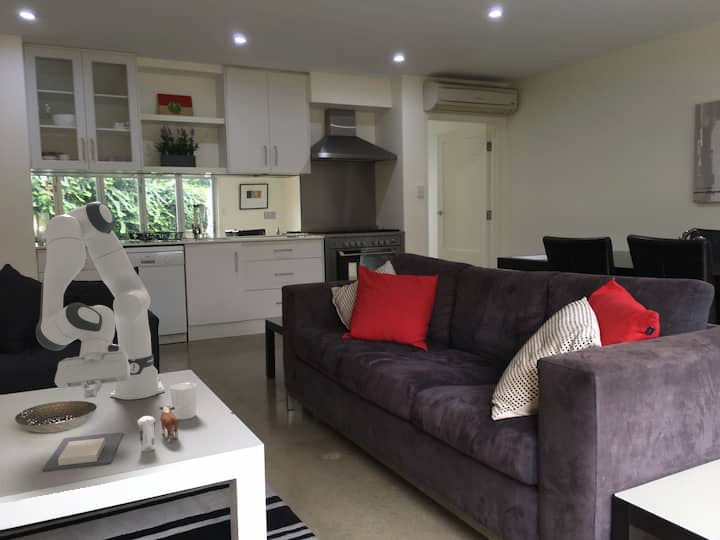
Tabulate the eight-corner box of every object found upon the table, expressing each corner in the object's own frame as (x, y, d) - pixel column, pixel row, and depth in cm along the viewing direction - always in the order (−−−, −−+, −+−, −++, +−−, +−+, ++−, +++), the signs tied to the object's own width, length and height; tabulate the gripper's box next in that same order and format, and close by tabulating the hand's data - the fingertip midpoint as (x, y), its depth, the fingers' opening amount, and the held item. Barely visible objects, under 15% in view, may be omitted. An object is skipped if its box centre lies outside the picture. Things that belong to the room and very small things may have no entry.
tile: (69, 441, 159) (58, 458, 148) (104, 437, 161) (96, 454, 150) (69, 448, 159) (58, 466, 148) (104, 444, 162) (96, 461, 150)
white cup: (190, 421, 181) (188, 389, 181) (167, 419, 183) (165, 388, 182) (202, 412, 189) (200, 382, 188) (179, 411, 191) (178, 382, 190)
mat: (64, 440, 167) (64, 438, 167) (123, 434, 171) (123, 432, 171) (42, 471, 146) (42, 469, 146) (110, 463, 150) (110, 461, 150)
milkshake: (133, 450, 159) (131, 414, 158) (153, 445, 162) (151, 410, 161) (138, 455, 155) (136, 418, 155) (159, 449, 159) (157, 414, 158)
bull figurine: (174, 427, 176) (173, 401, 175) (181, 442, 164) (179, 414, 163) (159, 430, 174) (157, 403, 173) (164, 445, 162) (163, 417, 161)
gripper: (55, 353, 170) (47, 396, 161) (128, 345, 173) (123, 387, 164) (63, 364, 175) (55, 406, 166) (133, 356, 178) (129, 397, 169)
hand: (90, 396), depth 165 cm, fingers closed
